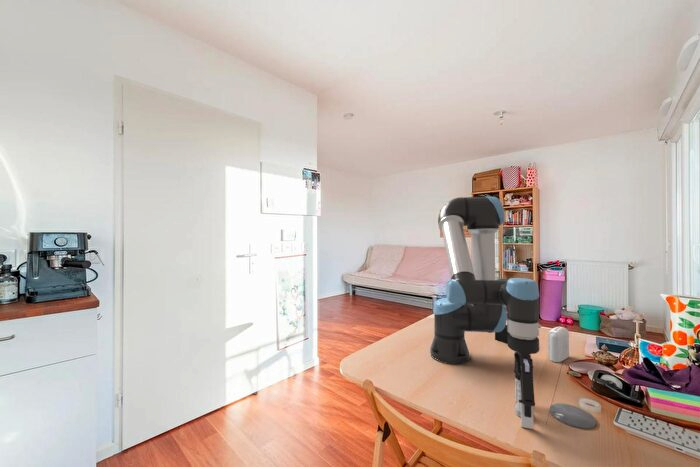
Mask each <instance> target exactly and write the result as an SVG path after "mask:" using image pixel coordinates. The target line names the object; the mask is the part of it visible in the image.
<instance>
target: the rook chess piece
mask: <svg viewBox="0 0 700 467" xmlns="http://www.w3.org/2000/svg"><path fill="white" fill-rule="evenodd" d="M517 390H518V391H519V392H518V402H516V404H515V405H514V412H515V415H516V416H518V418H521V403H519V400H521V399H522V397H521V385H520V384H518V387H517Z"/></svg>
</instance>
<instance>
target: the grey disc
mask: <svg viewBox="0 0 700 467" xmlns="http://www.w3.org/2000/svg"><path fill="white" fill-rule="evenodd" d="M549 412H550V414H551V415H552V416H553V417H554V418H555V420H557V421H559V422H561V423H563V424H565V425H567V426H569V427H573V428H577V429H582V430H590V429H593V428H595V427H596V426H597V420H596V417H594V416H593V415H592V414H591V413H590V412H588V411H586V410H585V409H583V408H580V407H578V406H575V405H572V404H567V403H562V402H561V403H552V404H551V405H550V406H549Z"/></svg>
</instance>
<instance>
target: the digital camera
mask: <svg viewBox="0 0 700 467" xmlns="http://www.w3.org/2000/svg"><path fill="white" fill-rule="evenodd" d="M508 334H509V333H508V331H507V324H506V325H505V328H504V329H503V330H502V331H501V332H494V340H495V341H496V340H497V342H500V343H503V344H507V345H508Z"/></svg>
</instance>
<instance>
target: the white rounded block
mask: <svg viewBox="0 0 700 467" xmlns="http://www.w3.org/2000/svg"><path fill="white" fill-rule="evenodd" d="M547 336H548V339H547V340H548V341H547V342H548V345H547V346H548V353H547V354H548V359H549V361H551V362H554V363H562V362H563V361H565V360H567V359H568V358H569V357H570V334H569V330H568V329H567V328H565V327H564V326H555V327H553V328H552V329H551V330H550V331H549V333H548V334H547Z"/></svg>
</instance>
